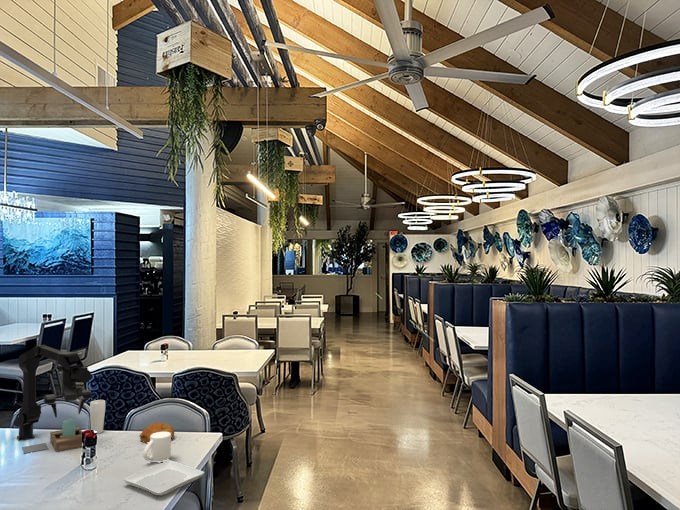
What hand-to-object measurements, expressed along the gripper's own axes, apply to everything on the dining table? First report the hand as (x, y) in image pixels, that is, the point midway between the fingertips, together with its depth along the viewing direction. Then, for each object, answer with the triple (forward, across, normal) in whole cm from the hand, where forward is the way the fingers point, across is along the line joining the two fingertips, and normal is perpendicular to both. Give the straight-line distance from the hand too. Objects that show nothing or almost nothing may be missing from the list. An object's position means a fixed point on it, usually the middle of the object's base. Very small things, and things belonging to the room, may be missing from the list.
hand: (67, 415), depth 219 cm
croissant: (+14, +35, -15) cm, 41 cm away
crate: (+13, +1, 0) cm, 13 cm away
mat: (+13, -12, +3) cm, 18 cm away
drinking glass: (+13, +14, +10) cm, 22 cm away
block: (+10, +1, 0) cm, 10 cm away
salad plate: (+14, +22, -66) cm, 71 cm away
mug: (+13, +27, -43) cm, 52 cm away
